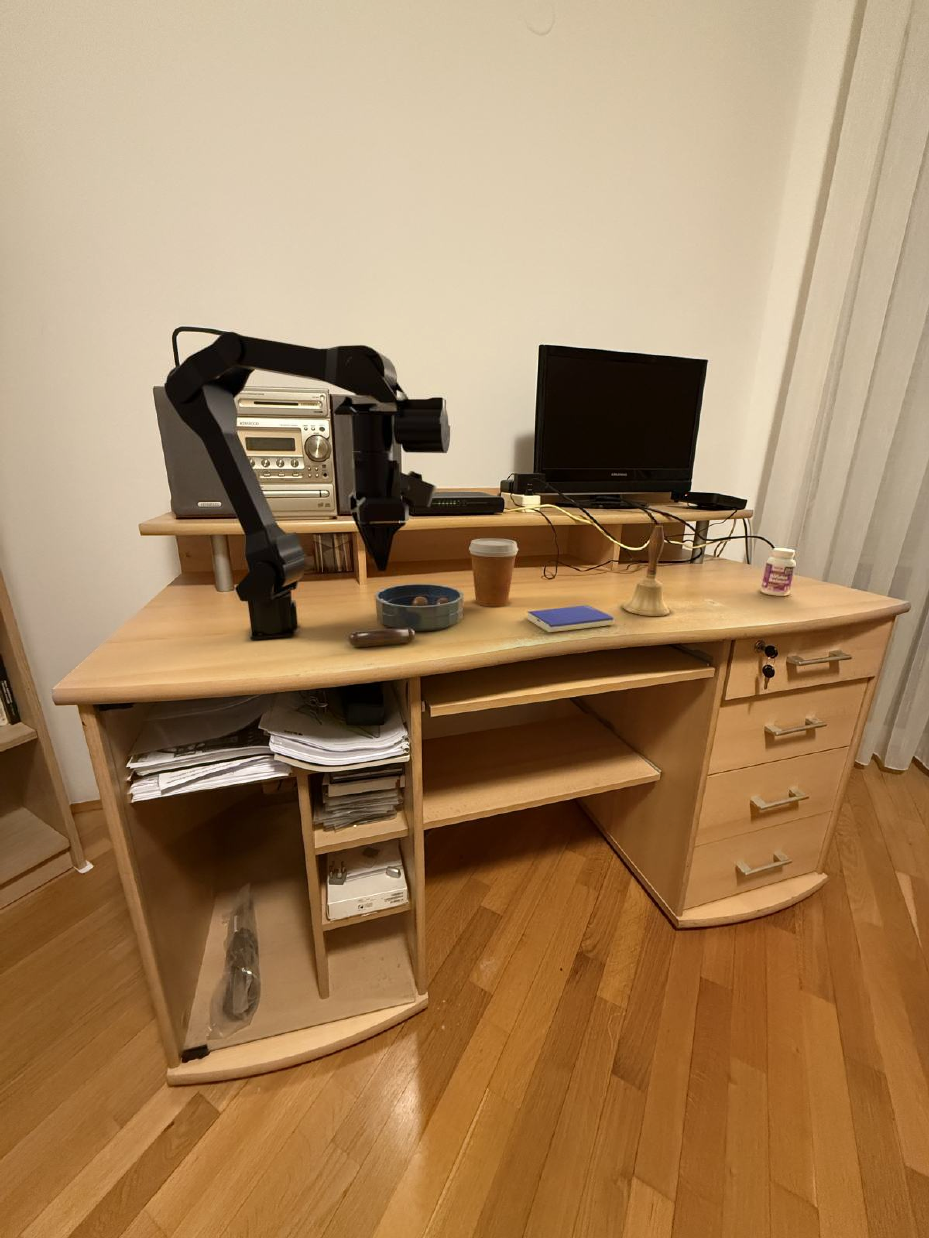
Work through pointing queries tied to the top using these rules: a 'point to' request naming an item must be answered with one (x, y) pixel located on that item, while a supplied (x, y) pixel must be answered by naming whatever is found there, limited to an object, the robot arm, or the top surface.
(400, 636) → the stick
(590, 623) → the hard drive
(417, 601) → the glossy brown ball
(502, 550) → the disposable coffee cup
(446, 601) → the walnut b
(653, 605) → the hand bell
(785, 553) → the pill bottle
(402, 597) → the bowl
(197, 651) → the top surface
